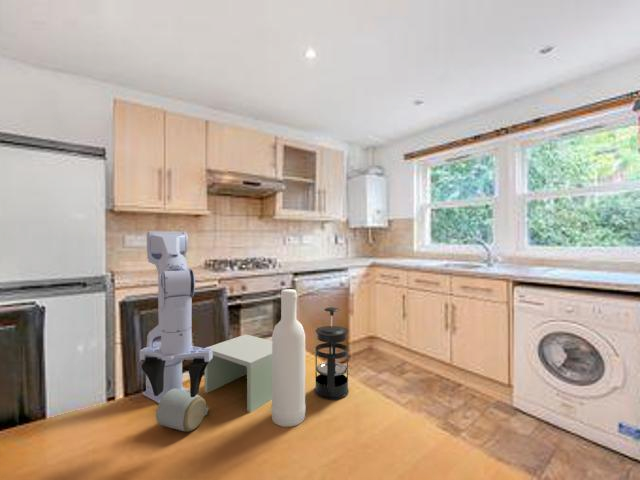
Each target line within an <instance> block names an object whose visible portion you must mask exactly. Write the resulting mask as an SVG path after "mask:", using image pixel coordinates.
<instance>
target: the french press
mask: <svg viewBox="0 0 640 480" xmlns="http://www.w3.org/2000/svg"><path fill="white" fill-rule="evenodd" d="M323 311H326V312H329V313H330V314H329V316H330V319H331V320H330V325H326V326H325V325H324V326H320V327H317V328H316V329H315V333H316V336H317V337H316V338H317V340H318V341H319V342H322V343H320V344H317V345H316V346H315V387H314V393H315V396H317V397H318V398H321V399H322V400H323V399H324V400H329V401H334V400H335V401H336V400H341V399H343V398H346V397H347V396H348V395H349V392H350V391H349V390H350V389H349V347H348V346H347V345H345V344H343V343H342V342H345V341H346V340H347V334H348V333H349V330H348V329H347V328H346V327H343V326H338V325H337V326H336V325H333V316H334V312H335V313H336V312H339V311H340V308H338V307H332V306H331V307H325V308H324V309H323ZM326 348H329V349H328V352H322V351H320V350H322V349H326ZM336 348H338V349H341V350H344V351H343V352H339V353H336ZM318 357H319V358H322V359H327V362H323V363H320V364H318V362H317V361H318ZM345 357H346V365H345V364H343V363H339V362H336V360H337V359H342V358H345ZM317 374H318V375H317ZM345 374H346V375H345Z"/></svg>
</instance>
